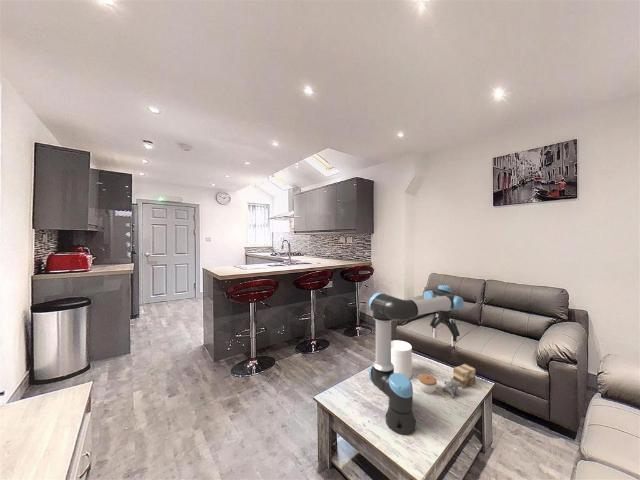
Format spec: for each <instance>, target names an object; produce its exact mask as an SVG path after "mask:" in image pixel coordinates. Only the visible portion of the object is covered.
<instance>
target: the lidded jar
mask: <svg viewBox="0 0 640 480" xmlns="http://www.w3.org/2000/svg"><path fill="white" fill-rule="evenodd" d="M417 381H418V386H419V388H420V390H421V391H422V392H423V393H425V394H428V395H429V394H432V393H434V392H435V391H436V389H437V381H438V380H437V378H436V377H435V376H433V375H431V374H428V373H420V374H418V376H417Z"/></svg>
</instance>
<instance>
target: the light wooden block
mask: <svg viewBox="0 0 640 480" xmlns="http://www.w3.org/2000/svg"><path fill="white" fill-rule="evenodd" d="M452 370H453V371H452V372H453V373H452V375H453V376H455V377H457V378H459V379H460V380H462V381H465V380H468V379H470V378H473V377H475V378H476V376H477V375H476V372H477V371H476V368H474V367H473V366H471V365H469V364H467V363H463V364H461V365H459V366H455V367H453V369H452ZM453 376H452V377H453Z"/></svg>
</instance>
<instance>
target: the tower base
mask: <svg viewBox="0 0 640 480" xmlns="http://www.w3.org/2000/svg"><path fill="white" fill-rule="evenodd" d="M452 379H453V380H456V381H460V383H461V385H462V387H460V388H462V389H465V388H469V387H471V386H473V385H476V376H475V377H473V378H470V379H468V380H465V381H462V380H460V379H459V378H457V377H455V376H452Z"/></svg>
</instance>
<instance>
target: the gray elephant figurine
mask: <svg viewBox="0 0 640 480" xmlns="http://www.w3.org/2000/svg"><path fill="white" fill-rule="evenodd" d="M443 383H444V384H445V385H444V387H443V388H442V391H443V392H448V393H450V396H451V397H452V399H453V398H455V395H456V396H460V393H459V388H461V387H462V385H461V383H460V381H456V380H453V377H450V381H449V382H448V381H444V382H443ZM454 393H455V394H454Z"/></svg>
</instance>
